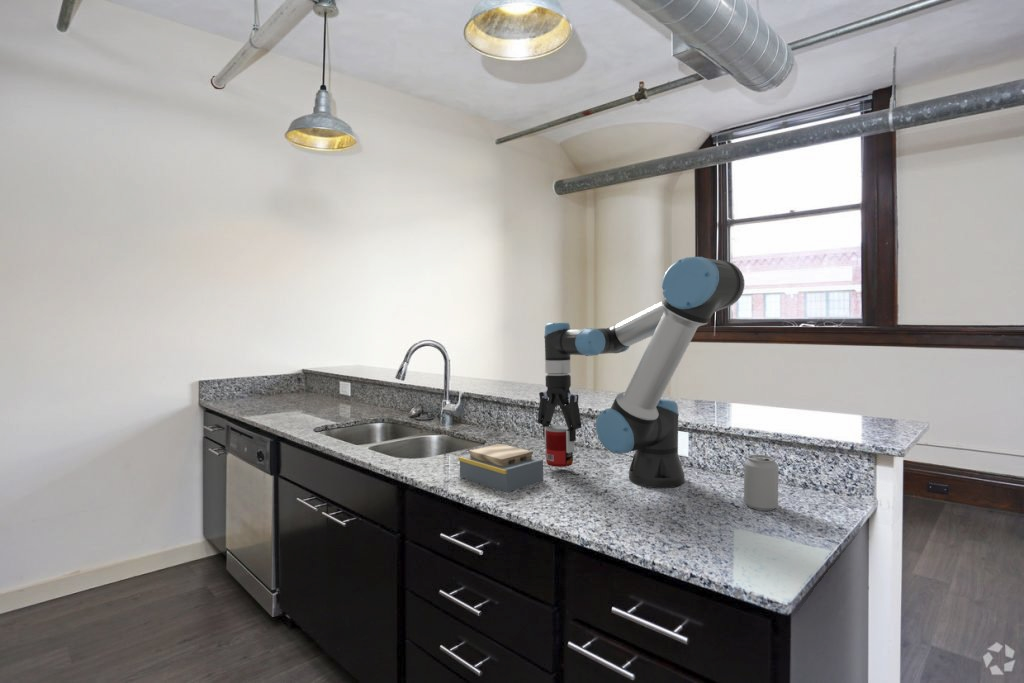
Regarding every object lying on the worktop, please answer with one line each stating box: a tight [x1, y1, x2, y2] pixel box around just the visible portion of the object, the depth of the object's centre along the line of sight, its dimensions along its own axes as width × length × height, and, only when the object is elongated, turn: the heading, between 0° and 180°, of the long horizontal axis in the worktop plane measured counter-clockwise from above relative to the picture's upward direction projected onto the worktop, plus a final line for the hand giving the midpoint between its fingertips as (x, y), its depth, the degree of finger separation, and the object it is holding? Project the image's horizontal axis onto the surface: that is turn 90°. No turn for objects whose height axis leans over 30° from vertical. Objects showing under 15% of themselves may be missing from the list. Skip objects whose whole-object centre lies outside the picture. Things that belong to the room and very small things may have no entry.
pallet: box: [468, 443, 534, 466], centre depth 152 cm, size 14×12×2 cm
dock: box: [457, 453, 544, 493], centre depth 152 cm, size 20×15×6 cm
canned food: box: [545, 424, 574, 468], centre depth 160 cm, size 8×8×11 cm
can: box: [743, 454, 779, 512], centre depth 128 cm, size 8×8×12 cm
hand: (559, 449), depth 160 cm, fingers closed on canned food, 8 cm apart
